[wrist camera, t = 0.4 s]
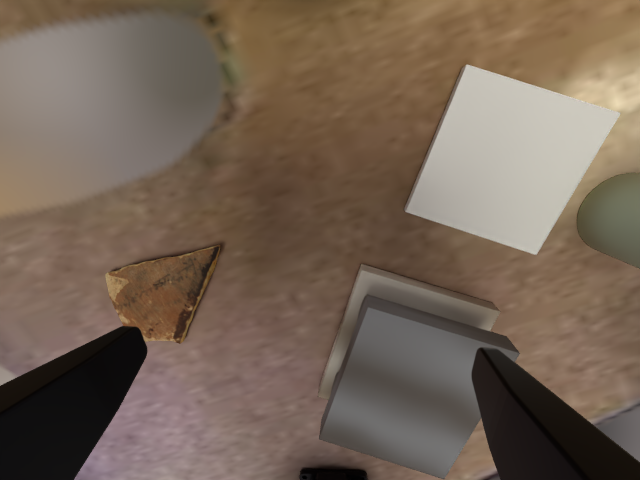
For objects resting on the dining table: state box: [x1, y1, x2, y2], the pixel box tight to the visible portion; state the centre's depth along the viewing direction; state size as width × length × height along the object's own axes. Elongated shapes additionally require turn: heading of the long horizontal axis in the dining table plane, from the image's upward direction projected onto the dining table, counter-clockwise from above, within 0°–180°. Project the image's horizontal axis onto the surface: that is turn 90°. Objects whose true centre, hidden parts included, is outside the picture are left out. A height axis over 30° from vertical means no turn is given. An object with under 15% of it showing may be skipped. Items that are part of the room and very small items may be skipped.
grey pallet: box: [318, 264, 520, 479], centre depth 21 cm, size 12×10×5 cm
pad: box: [404, 65, 620, 255], centre depth 18 cm, size 9×9×1 cm
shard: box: [106, 245, 220, 344], centre depth 24 cm, size 11×8×2 cm
